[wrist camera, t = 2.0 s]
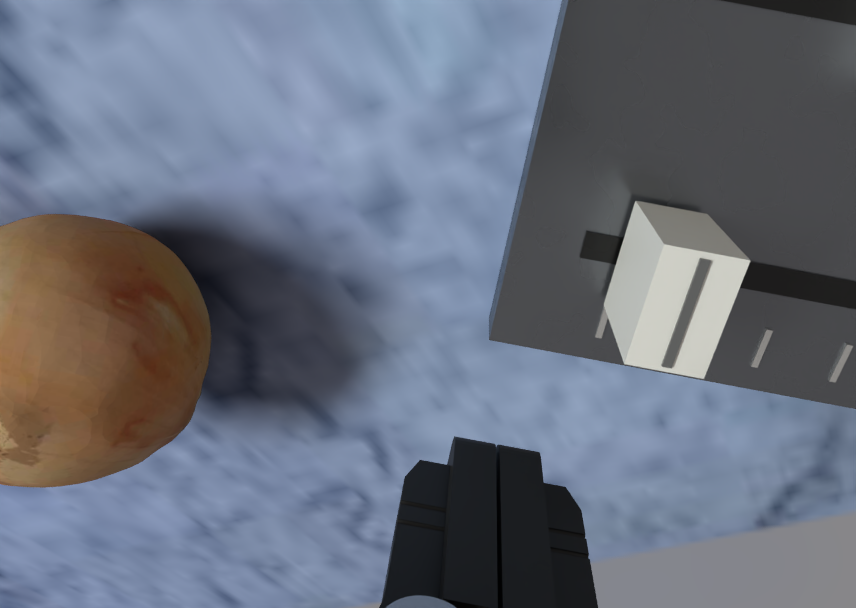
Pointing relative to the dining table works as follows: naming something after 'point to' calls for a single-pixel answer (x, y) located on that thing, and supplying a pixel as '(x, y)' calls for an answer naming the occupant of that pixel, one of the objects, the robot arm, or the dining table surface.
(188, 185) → the dining table surface
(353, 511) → the dining table surface
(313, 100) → the dining table surface
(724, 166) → the console
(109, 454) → the onion
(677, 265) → the fader
